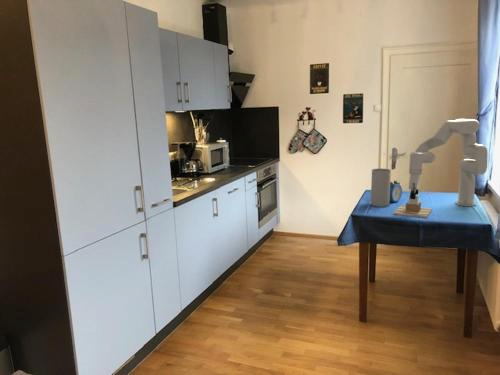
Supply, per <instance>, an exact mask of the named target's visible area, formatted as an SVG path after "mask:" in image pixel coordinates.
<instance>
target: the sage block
mask: <svg viewBox="0 0 500 375" xmlns="http://www.w3.org/2000/svg"><path fill="white" fill-rule="evenodd" d="M419 199H420V194H418V195H416V197H415V199H410V194H409V195H408V201H409V203H413V204H417V203H418V202H420V200H419Z"/></svg>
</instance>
